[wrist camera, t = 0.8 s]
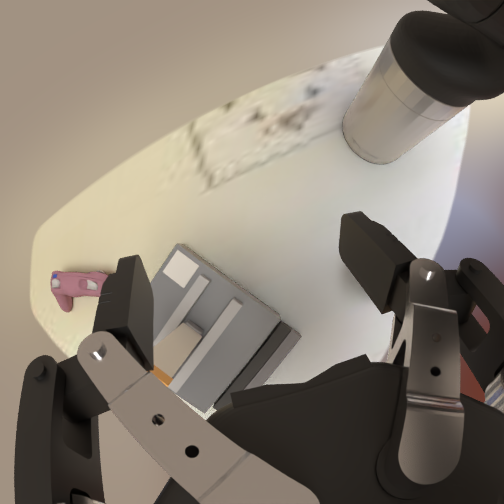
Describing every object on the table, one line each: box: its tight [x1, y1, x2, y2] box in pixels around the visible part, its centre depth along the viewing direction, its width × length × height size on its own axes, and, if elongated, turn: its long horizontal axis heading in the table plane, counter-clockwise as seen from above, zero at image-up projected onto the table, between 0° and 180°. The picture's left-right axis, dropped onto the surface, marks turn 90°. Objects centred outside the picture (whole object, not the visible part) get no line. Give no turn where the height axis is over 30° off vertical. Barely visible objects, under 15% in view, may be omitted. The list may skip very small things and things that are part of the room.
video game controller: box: [51, 270, 108, 312], centre depth 33 cm, size 10×5×7 cm, turn 91°
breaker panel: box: [150, 244, 281, 413], centre depth 33 cm, size 15×14×4 cm
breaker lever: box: [147, 320, 204, 387], centre depth 25 cm, size 3×3×14 cm
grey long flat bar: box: [213, 320, 301, 410], centre depth 34 cm, size 14×3×1 cm, turn 144°
